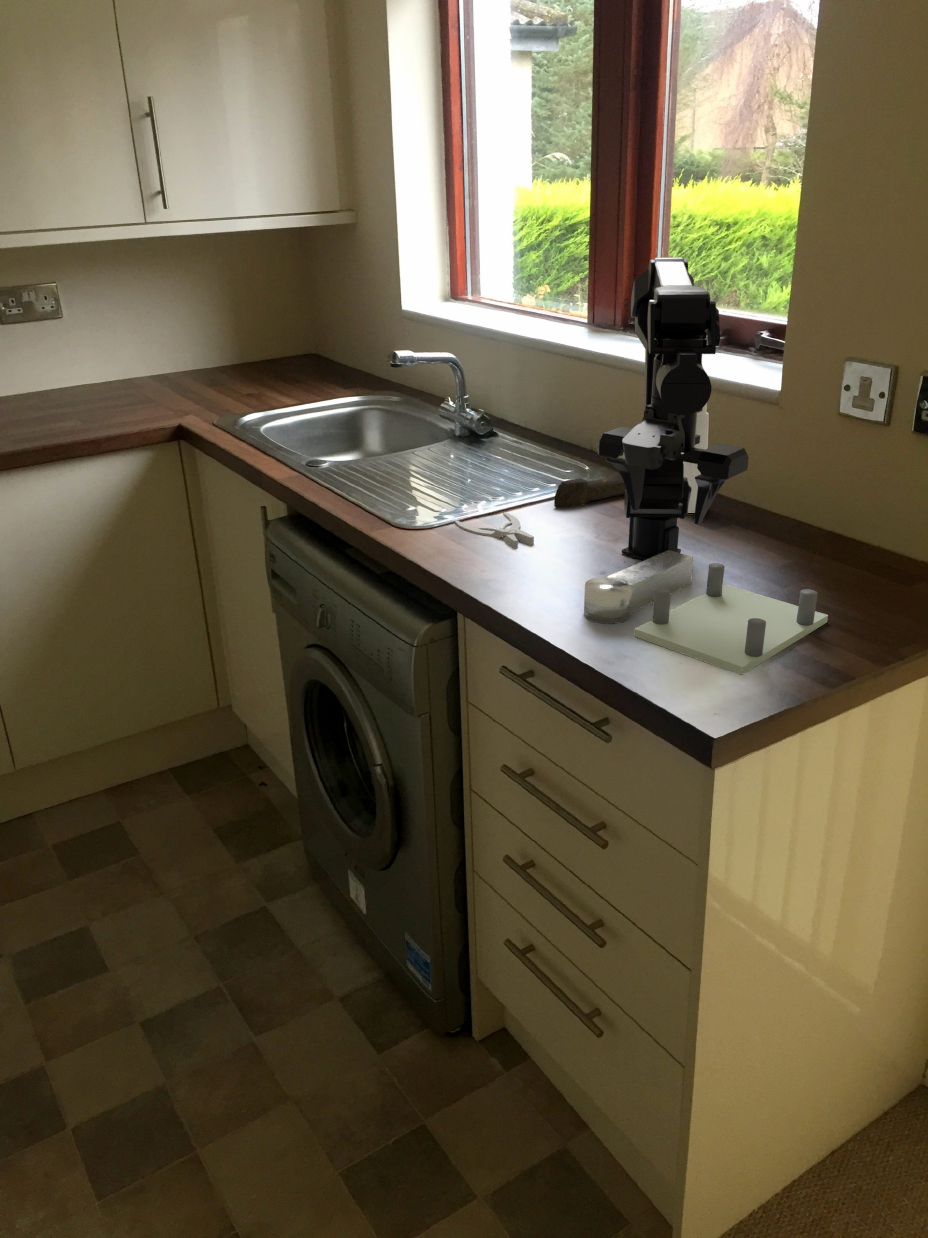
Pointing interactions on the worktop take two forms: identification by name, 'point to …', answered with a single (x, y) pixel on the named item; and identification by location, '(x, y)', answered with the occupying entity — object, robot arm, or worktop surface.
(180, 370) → the worktop surface
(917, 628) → the worktop surface
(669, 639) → the peg board
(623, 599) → the round-ended glossy bar
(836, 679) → the worktop surface
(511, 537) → the pliers
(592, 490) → the hand tool
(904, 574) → the worktop surface
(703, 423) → the cosmetic bottle
